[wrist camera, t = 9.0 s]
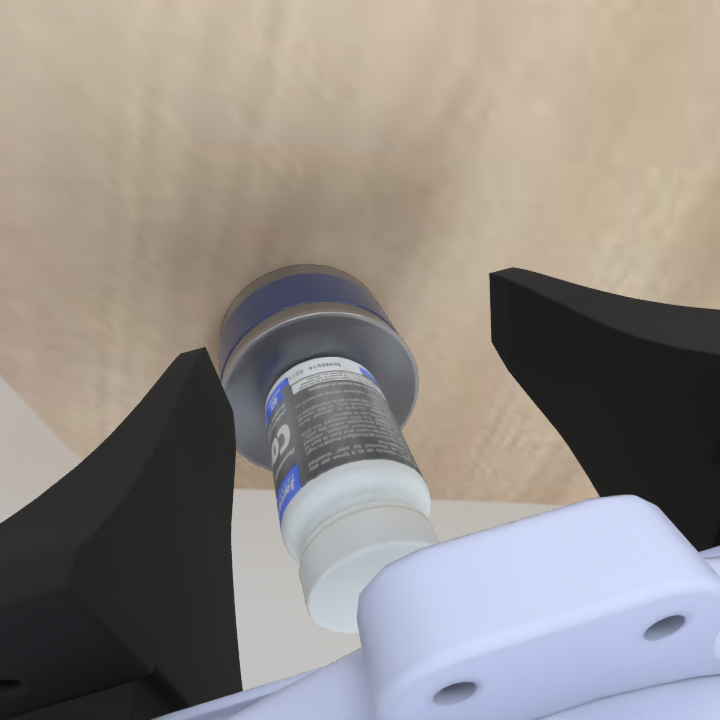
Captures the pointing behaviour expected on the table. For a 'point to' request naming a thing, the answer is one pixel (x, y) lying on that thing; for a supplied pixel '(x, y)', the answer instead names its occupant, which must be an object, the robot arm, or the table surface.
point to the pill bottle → (342, 484)
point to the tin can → (306, 344)
